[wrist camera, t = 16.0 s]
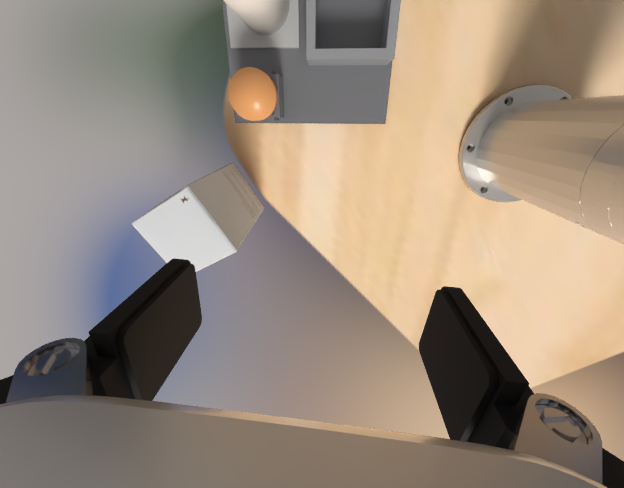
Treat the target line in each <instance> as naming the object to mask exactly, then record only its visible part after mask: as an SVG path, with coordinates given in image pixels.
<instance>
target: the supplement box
mask: <svg viewBox="0 0 624 488" xmlns="http://www.w3.org/2000/svg"><path fill="white" fill-rule="evenodd" d="M263 209H264V207H263V206H262V204H261V203H260V201H259V200H258V198H257V197H256V195H255V194H254V192H253V191H252V189H251V188H250V186H249V185H248V183H247V182H246V180H245V179H244V177H243V176H242V174H241V173H240V171H239V170H238V168H237V167H236V165H235V164H234V163H231V164H229V165H227V166H225V167H223V168H221V169H219V170H217V171H215V172H213V173H211V174H209V175H207V176H205V177H203V178H201V179H199V180H197V181H195V182H193V183H191V184H189V185H187V186H185V187H184V188H182V189H181V190H179V191H178V192H176V193H175V194H173V195H172V196H170V197H169V198H167V199H165V200H164V201H163V202H161V203H160V204H158V205H157V206H155V207H154V208H153V209H151V210H150V211H148V212H147V213H146V214H144V215H143V216H142V217H140V218H139V219H137V220H136V221H135V222H133V223H132V225H133V226H134V227H135V228H136V229H137V231H138V232H139V233H140V234H141V235H142V236H143V237H144V238H145V239H146V240H147V242H148V243H150V245H151V246H152V247H153V248H154V249H155V250H156V252H157V253H158V254H159V255H160V256H161V257H162V258H163V259H164V261H166V263H168V262H169V261H170V260H171V259H185V260H189V261H190V262H191V264H193V265H194V266H195V272H197V271H199V270H201V269H203V268H205V267H207V266H209V265H211V264H213V263H215V262H217V261H219V260H221V259H223V258H225V257H227V256H228V255H231V254H233V253H235V252H236V251H237V250H238V248H239V246H240V244H241V243H242V241H243V240H244V238H245V237H246V235H247V234H248V232H249V231H250V229H251V228H252V226H253V225H254V223H255V222H256V220H257V219H258V217H259V216H260V214H261V213H262V211H263Z"/></svg>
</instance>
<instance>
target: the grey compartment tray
mask: <svg viewBox="0 0 624 488" xmlns="http://www.w3.org/2000/svg"><path fill="white" fill-rule="evenodd" d="M289 2H290V6H289V13H288V17H287V19H286V21H285V23H284V25H283V26H282V27H281V29H280V30H278V31H277V32H276V33H274V34H271V35H259V34H257V33H255V32H253V31H252V30H250V29H249V28H248V27H247V26H246V25H245V23H244V22H243V21H242V20H241V19H240V18H239V17H238V16H237V15H236V14H235V13H234V12H233V10H232V9H231V8H230V7H229V6H228V5H227V4H226V3H225V2H224V1H223V0H222V4H223V12H224V22H225V32H226V41H227V51H228V60H229V69H230V79H231V78H232V77H233V75H234V74H235V73H236V72H237V71H238V70H240V69H242V68H245V67H254V68H257V69H260V70H261V71H263V72H265V73H266V74H267V75H268V76H270V77H271V79H272V80H273V82H274V83H275V85H276V88H277V92H278V103H277V106H276V109H275V111H274V112H273V113H272V115H271V116H269V117H268V118H266V119H264V120H260V121H250V120H247V119H244V118H242V117H241V116H239V115H238V114H237V113H236V111H235V110H234V116H235V123H344V124H385V122H386V113H387V104H388V95H389V86H390V77H391V68H392V60H393V59H394V55H395V47H396V38H397V29H398V20H399V11H400V2H401V0H289Z"/></svg>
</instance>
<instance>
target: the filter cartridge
mask: <svg viewBox="0 0 624 488" xmlns="http://www.w3.org/2000/svg"><path fill="white" fill-rule="evenodd" d="M223 1H224V2H225V3H226V4H227V5H228V6H229V7H230V8H231V9H232V10H233V12H234V13H235V14H236V15H237V16H238V17H239V18H240V19H241V20H242V21H243V22H244V23H245V25H246V26H247V27H248V28H249V29H250V30H252V31H253V32H255V33H257V34H259V35H271V34H274V33H276V32H277V31H278V30H280V29H281V27H282V26H283V25H284V23H285V21H286V19H287V17H288V13H289V6H290V2H289V0H223Z"/></svg>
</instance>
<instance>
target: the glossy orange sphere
mask: <svg viewBox="0 0 624 488" xmlns="http://www.w3.org/2000/svg"><path fill="white" fill-rule="evenodd" d="M228 95H229V100H230V103H231V105H232V107H233V109H234V110H235V111H236V113H237V114H238V115H239V116H241V117H242V118H244V119H247V120H250V121H260V120H264V119H266V118H268V117H269V116H271V115H272V113H273V112H274V111H275V109H276V106H277V103H278V92H277V88H276V85H275V83H274V82H273V80H272V79H271V77H270V76H268V75H267V74H266V73H265V72H263V71H261V70H260V69H257V68H254V67H245V68H242V69H240V70H238V71H237V72H236V73H235V74H234V75H233V77H232V78H231V80H230V83H229V88H228Z"/></svg>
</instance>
